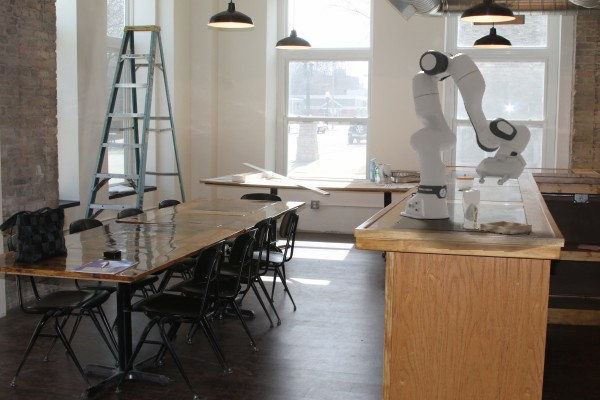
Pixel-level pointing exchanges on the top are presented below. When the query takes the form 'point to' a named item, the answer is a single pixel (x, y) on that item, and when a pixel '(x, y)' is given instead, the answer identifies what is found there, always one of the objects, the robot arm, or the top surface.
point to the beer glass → (471, 208)
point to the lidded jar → (464, 182)
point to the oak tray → (506, 227)
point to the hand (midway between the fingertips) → (489, 183)
